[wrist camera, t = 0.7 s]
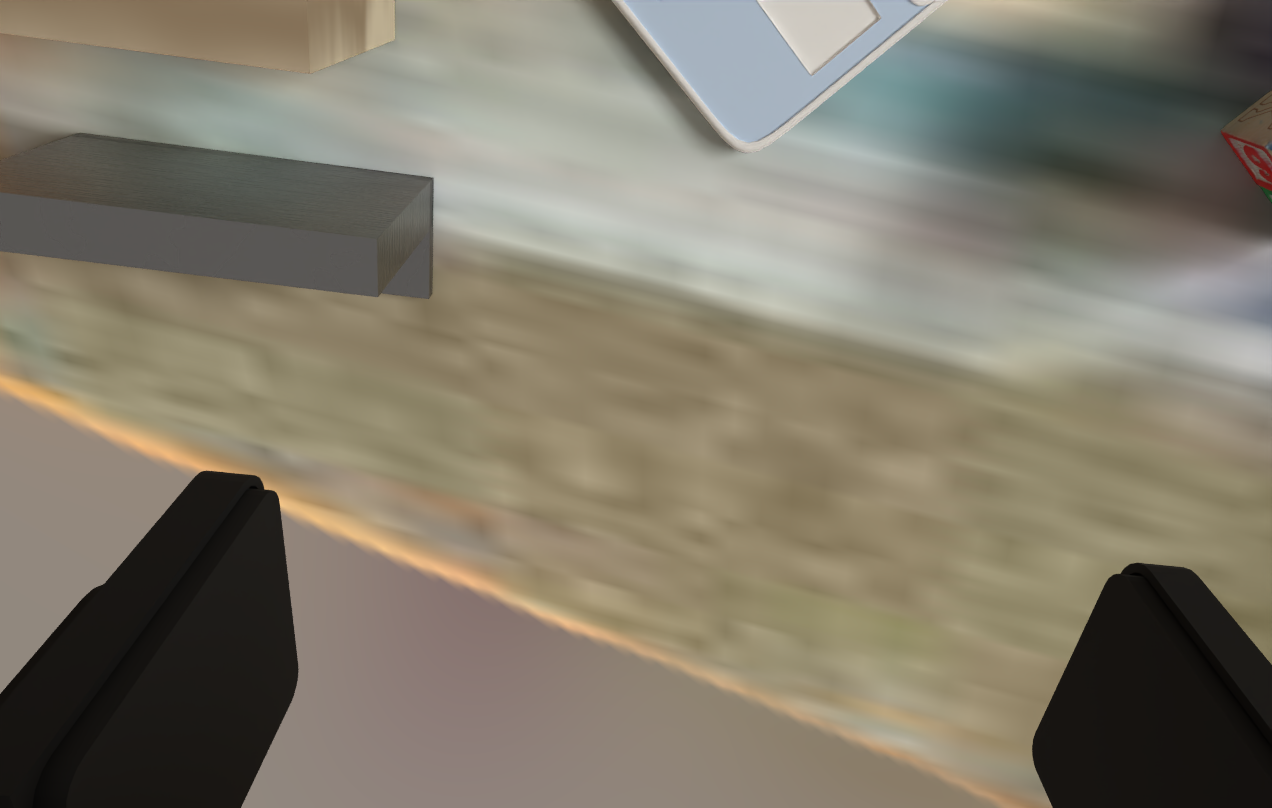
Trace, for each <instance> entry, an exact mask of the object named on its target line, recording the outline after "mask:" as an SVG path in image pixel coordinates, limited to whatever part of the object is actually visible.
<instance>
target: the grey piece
mask: <svg viewBox="0 0 1272 808" xmlns="http://www.w3.org/2000/svg"><path fill="white" fill-rule="evenodd" d="M433 179H434V178H430V177H422V176H414V175H407V174H399V173H391V172H383V171H375V170H367V169H359V168H352V167H344V166H336V165H328V164H320V163H312V162H305V161H297V160H289V159H281V158H273V157H265V156H257V155H250V154H242V153H234V152H226V151H218V150H210V149H203V148H195V147H187V146H179V145H171V144H163V143H155V142H148V141H140V140H132V139H124V138H116V137H108V136H101V135H93V134H85V133H78V134H75V135H72V136H69V137H66V138H63V139H60V140H57V141H55V142H52V143H49V144H46V145H43V146H40V147H37V148H34V149H31V150H28V151H25V152H22V153H20V154H17V155H14V156H11V157H8V158H5V159H2V160H0V251H4V252H12V253H21V254H29V255H37V256H45V257H53V258H62V259H70V260H78V261H86V262H94V263H103V264H111V265H119V266H127V267H135V268H144V269H152V270H160V271H168V272H176V273H184V274H193V275H201V276H209V277H217V278H225V279H234V280H242V281H250V282H258V283H266V284H275V285H283V286H291V287H299V288H307V289H316V290H324V291H332V292H340V293H348V294H357V295H365V296H373V297H378V296H379V295H380V294H381V293H384V294H392V295H401V296H409V297H417V298H425V299H429V298H430V296H431V295H432V266H433Z"/></svg>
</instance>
